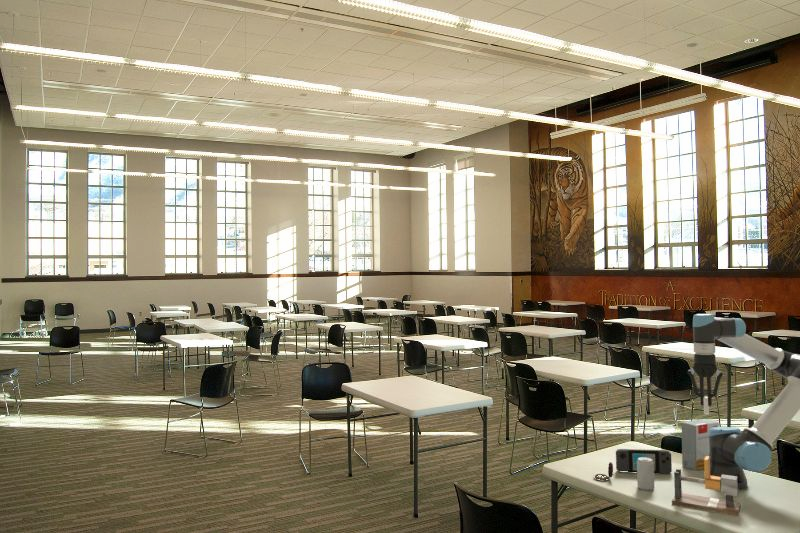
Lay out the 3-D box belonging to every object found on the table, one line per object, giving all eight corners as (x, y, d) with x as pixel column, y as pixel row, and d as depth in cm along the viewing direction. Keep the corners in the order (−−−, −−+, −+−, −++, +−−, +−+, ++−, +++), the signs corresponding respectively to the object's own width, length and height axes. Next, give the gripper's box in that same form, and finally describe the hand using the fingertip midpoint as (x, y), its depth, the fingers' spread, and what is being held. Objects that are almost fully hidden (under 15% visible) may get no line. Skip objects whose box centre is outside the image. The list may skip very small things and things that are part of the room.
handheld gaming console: (617, 473, 266) (616, 450, 266) (616, 471, 268) (615, 448, 269) (672, 474, 262) (671, 451, 262) (670, 472, 264) (669, 449, 264)
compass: (592, 476, 262) (592, 459, 262) (611, 477, 260) (611, 460, 260) (595, 482, 254) (594, 465, 254) (614, 483, 252) (614, 466, 253)
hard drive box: (696, 471, 265) (694, 425, 266) (681, 466, 272) (680, 422, 273) (720, 465, 272) (719, 421, 272) (706, 461, 279) (704, 418, 279)
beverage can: (637, 490, 244) (636, 460, 244) (637, 485, 250) (636, 456, 250) (654, 491, 241) (653, 461, 242) (654, 486, 248) (653, 457, 248)
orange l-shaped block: (706, 485, 228) (705, 455, 228) (721, 487, 225) (720, 457, 226) (705, 489, 224) (704, 459, 224) (720, 491, 221) (719, 461, 221)
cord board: (676, 496, 236) (675, 465, 237) (740, 506, 224) (739, 474, 224) (671, 504, 228) (670, 472, 228) (738, 516, 216) (737, 482, 216)
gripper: (684, 353, 236) (686, 414, 236) (722, 355, 229) (724, 417, 228) (687, 351, 242) (689, 410, 242) (724, 353, 235) (726, 413, 234)
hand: (706, 413), depth 235 cm, fingers closed
